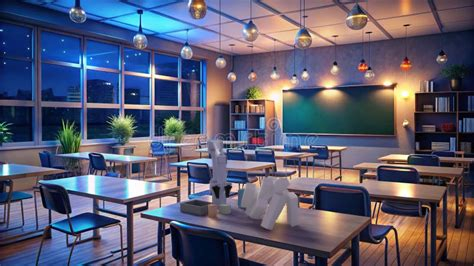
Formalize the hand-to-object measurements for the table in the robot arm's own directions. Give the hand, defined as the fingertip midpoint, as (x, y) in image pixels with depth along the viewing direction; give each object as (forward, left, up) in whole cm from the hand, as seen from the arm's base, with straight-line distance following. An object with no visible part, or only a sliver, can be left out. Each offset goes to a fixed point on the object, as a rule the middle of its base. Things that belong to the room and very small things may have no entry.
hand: (222, 198), depth 222 cm
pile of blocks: (+1, +34, -9) cm, 35 cm away
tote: (+5, -15, -9) cm, 18 cm away
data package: (-20, +4, -9) cm, 22 cm away
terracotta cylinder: (+9, +1, -9) cm, 13 cm away
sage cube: (-2, +1, -9) cm, 9 cm away
